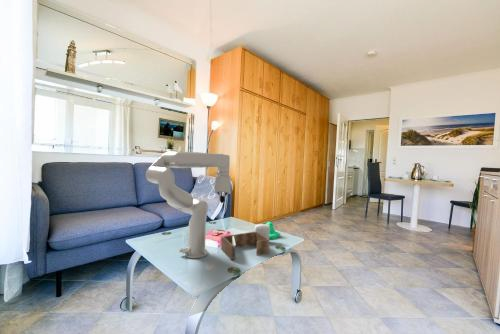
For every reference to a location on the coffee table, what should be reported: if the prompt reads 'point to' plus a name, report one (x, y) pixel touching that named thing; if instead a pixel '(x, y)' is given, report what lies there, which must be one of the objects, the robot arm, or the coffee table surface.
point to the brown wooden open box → (245, 243)
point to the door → (234, 247)
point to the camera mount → (272, 231)
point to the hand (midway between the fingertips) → (222, 202)
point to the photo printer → (263, 230)
